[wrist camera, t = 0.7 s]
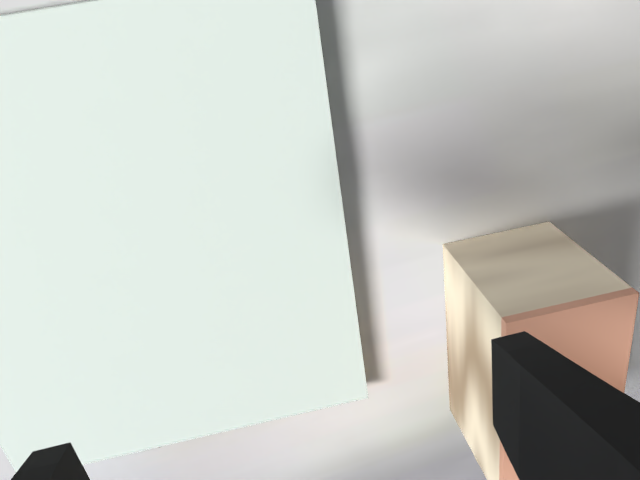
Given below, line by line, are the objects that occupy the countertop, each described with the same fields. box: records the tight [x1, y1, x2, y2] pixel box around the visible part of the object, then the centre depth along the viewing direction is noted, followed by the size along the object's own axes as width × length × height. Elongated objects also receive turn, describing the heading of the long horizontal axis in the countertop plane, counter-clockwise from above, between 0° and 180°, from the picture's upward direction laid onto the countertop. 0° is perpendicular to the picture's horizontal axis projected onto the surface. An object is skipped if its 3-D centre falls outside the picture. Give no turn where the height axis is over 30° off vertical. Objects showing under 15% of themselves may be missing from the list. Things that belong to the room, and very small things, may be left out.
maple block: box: [443, 222, 639, 480], centre depth 20 cm, size 8×4×5 cm, turn 8°
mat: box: [0, 0, 368, 472], centre depth 18 cm, size 15×13×1 cm
